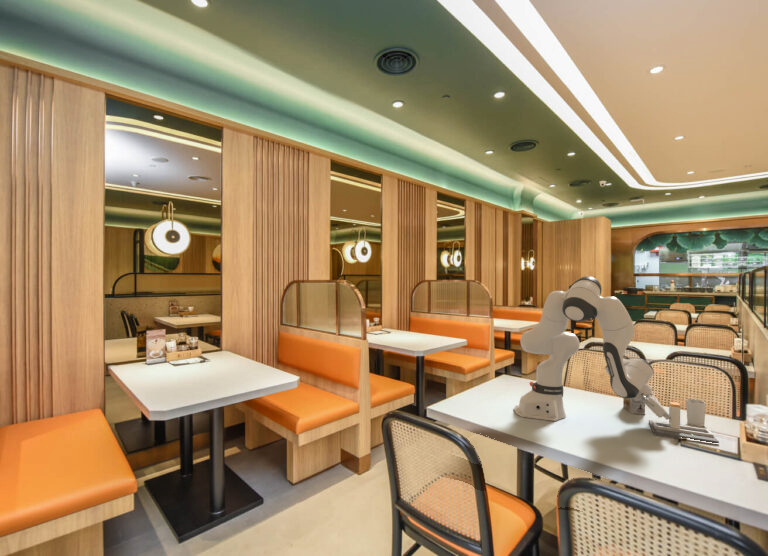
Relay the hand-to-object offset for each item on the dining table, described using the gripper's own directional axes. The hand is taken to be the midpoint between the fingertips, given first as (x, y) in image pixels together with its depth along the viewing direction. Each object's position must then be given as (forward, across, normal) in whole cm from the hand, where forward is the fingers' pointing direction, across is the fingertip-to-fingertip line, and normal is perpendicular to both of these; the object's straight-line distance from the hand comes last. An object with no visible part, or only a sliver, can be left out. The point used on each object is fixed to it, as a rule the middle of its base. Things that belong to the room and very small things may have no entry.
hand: (668, 417), depth 155 cm
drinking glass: (+13, +17, -5) cm, 22 cm away
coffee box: (-2, +23, +11) cm, 26 cm away
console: (+7, 0, +1) cm, 7 cm away
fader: (+5, 0, +2) cm, 5 cm away
